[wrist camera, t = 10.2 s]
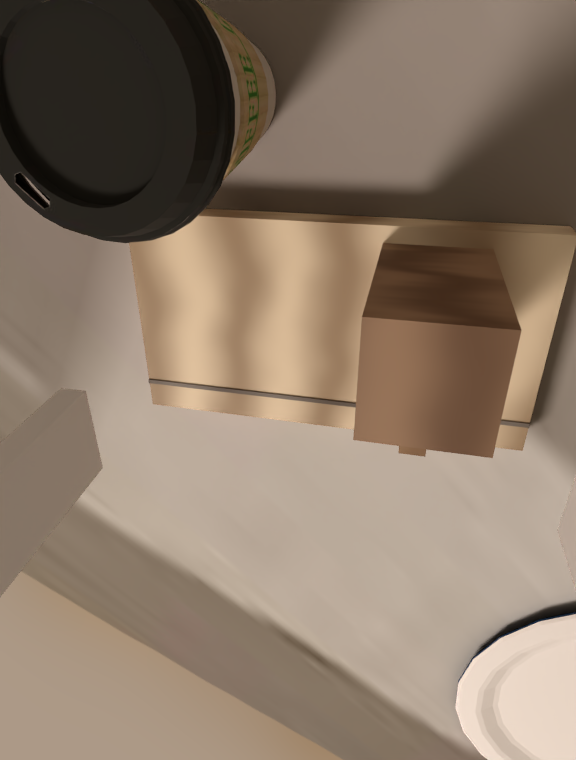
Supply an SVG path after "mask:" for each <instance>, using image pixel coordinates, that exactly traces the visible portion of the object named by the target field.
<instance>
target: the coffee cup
mask: <svg viewBox="0 0 576 760" xmlns="http://www.w3.org/2000/svg"><path fill="white" fill-rule="evenodd" d="M275 105H276V89H275V81H274V78H273V74H272V71H271V68H270V66H269V64H268V62H267V60H266V58H265V57H264V56H263V54H262V53H261V52H260V50H259V49H258V48H257V47H256V46H255V45H254V44H253V43H252V42H250V41H249V40H248V39H246V37H245V36H244V35H243V34H242V33H241V32H240V31H239V30H237V29H236V28H235V27H234V26H233V25H232V24H230V23H229V22H228V21H226V20H225V19H224V18H222V17H221V16H219V15H218V14H217V13H215V12H214V11H213V10H211V9H210V8H208V7H207V6H206V5H204V4H203V3H202V2H200V1H199V0H0V174H1V175H2V177H3V178H4V180H5V181H6V182H7V184H8V185H9V186H10V187H11V188H12V189H13V190H14V191H15V192H16V193H17V194H18V196H19V197H20V198H21V199H22V200H23V201H24V202H25V203H26V204H28V205H29V206H30V207H32V208H33V209H34V210H35V211H37V212H38V213H39V214H41V215H42V216H43V217H45V218H47V219H48V220H50V221H52V222H54V223H56V224H58V225H59V226H61V227H63V228H66V229H69V230H72V231H75V232H78V233H81V234H84V235H88V236H91V237H94V238H97V239H100V240H105V241H113V242H121V243H131V242H142V241H151V240H155V239H158V238H161V237H164V236H167V235H170V234H173V233H175V232H176V231H178V230H179V229H181V228H183V227H184V226H186V225H188V224H189V223H191V222H192V221H193V220H194V219H195V218H196V217H197V216H198V215H199V214H200V213H201V212H202V211H203V210H204V209H205V208H206V207H207V206H208V205H209V203H210V201H211V200H212V198H213V197H214V195H215V194H216V192H217V191H218V189H219V187H220V186H221V183H222V181H223V180H224V179H225V178H226V177H227V176H228V175H229V174H230V173H231V172H232V171H233V169H234V168H235V167H236V166H237V165H238V164H239V163H240V162H241V161H242V160H243V159H244V158H245V157H246V156H247V155H248V154H249V153H250V152H251V151H252V149H253V148H254V146H255V145H256V143H257V142H258V140H259V139H260V138H261V137H262V136H263V135H264V134H265V132H266V130H267V129H268V127H269V125H270V123H271V120H272V118H273V115H274V110H275ZM24 176H25V177H27V178H28V179H29V180H30V181H31V182H32V183H33V185H34V186H35V187H36V188H37V189H38V190H39V191H40V192H41V193H42V194H43V195H44V196H45V197H46V198H47V199H48V200H49V201H50V205H49V204H48V203H47V202H46V201H45V200H44V199H43V198H42V197H41V196H40V195H39V194H38V193H37V192H36V191H35V190H34V189H33V187H32V186H31V185H30V184H29V182H28V181H27V180H26V178H25V177H24Z"/></svg>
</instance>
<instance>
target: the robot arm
mask: <svg viewBox="0 0 576 760" xmlns="http://www.w3.org/2000/svg"><path fill="white" fill-rule="evenodd" d="M102 468H103V467H102V462H101V458H100V453H99V449H98V444H97V440H96V435H95V431H94V426H93V422H92V417H91V412H90V408H89V403H88V399H87V394H86V391H82V390H73V389H64V388H61V389H60V390H59V391H58V392H56V393H55V394H54V395H53V396H52V397H51V398H50V399H49V400H48V401H46V402H45V403H44V404H43V405H42V406H41V407H40V408H39V409H37V410H36V411H35V412H34V413H33V414H32V415H31V416H30V417H29V418H27V419H26V420H25V421H24V422H23V423H22V424H21V425H20V426H18V427H17V428H16V429H15V430H14V431H13V432H12V433H11V434H9V435H8V436H7V437H6V438H5V439H4V440H3V441H2V442H1V443H0V597H1V595H2V594H3V593H4V592H5V590H6V589H7V588H8V587H9V585H10V584H11V583H12V582H13V580H14V579H15V578H16V577H17V575H18V574H19V573H20V572H21V570H22V569H23V568H24V566H25V565H26V564H27V563H28V561H29V560H30V559H31V558H32V556H33V555H34V554H35V553H36V551H37V550H38V549H39V548H40V546H41V545H42V544H43V542H44V541H45V540H46V539H47V537H48V536H49V535H50V534H51V532H52V531H53V530H54V529H55V527H56V526H57V525H58V524H59V522H60V521H61V520H62V518H63V517H64V516H65V515H66V513H67V512H68V511H69V510H70V508H71V507H72V506H73V505H74V503H75V502H76V501H77V500H78V498H79V497H80V496H81V494H82V493H83V492H84V491H85V489H86V488H87V487H88V486H89V484H90V483H91V482H92V481H93V479H94V478H95V477H96V476H97V474H98V473H99V472H100V470H101V469H102ZM558 534H559V537H560V540H561V543H562V547H563V550H564V553H565V557H566V560H567V563H568V567H569V570H570V573H571V577H572V580H573V583H574V587H575V590H576V476H575V479H574V482H573V485H572V488H571V491H570V494H569V497H568V500H567V503H566V506H565V509H564V512H563V515H562V518H561V521H560V524H559V527H558Z"/></svg>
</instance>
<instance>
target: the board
mask: <svg viewBox="0 0 576 760" xmlns="http://www.w3.org/2000/svg"><path fill="white" fill-rule="evenodd" d="M383 243H392V244H409V245H427V246H444V247H461V248H479V249H494V252H495V255H496V258H497V261H498V264H499V267H500V270H501V272H502V275H503V278H504V281H505V284H506V287H507V290H508V293H509V296H510V298H511V301H512V304H513V307H514V310H515V313H516V316H517V319H518V321H519V324H520V327H521V330H522V331H521V335H520V340H519V344H518V348H517V353H516V357H515V361H514V366H513V370H512V375H511V379H510V383H509V388H508V392H507V397H506V401H505V405H504V410H503V414H502V418H501V423H500V427H499V432H498V436H497V440H496V445H495V447H497V448H505V449H513V450H521V451H523V447H524V443H525V439H526V435H527V431H528V428H529V426H530V420H531V416H532V412H533V408H534V405H535V401H536V397H537V393H538V389H539V385H540V381H541V378H542V374H543V370H544V366H545V362H546V358H547V355H548V351H549V347H550V343H551V339H552V335H553V332H554V328H555V324H556V320H557V316H558V312H559V308H560V305H561V301H562V297H563V293H564V289H565V285H566V282H567V278H568V274H569V270H570V266H571V262H572V259H573V255H574V251H575V247H576V232H575V231H574V230H573V229H572V228H571V226H555V225H534V224H514V223H493V222H473V221H452V220H431V219H411V218H390V217H369V216H349V215H328V214H308V213H287V212H266V211H246V210H225V209H204V210H203V211H202V212H201V213H200V214H199V215H198V216H197V217H196V218H195V219H194V220H193V221H192V222H191V223H189V224H188V225H186V226H184V227H183V228H181V229H179V230H178V231H176V232H175V233H173V234H170V235H167V236H164V237H161V238H158V239H155V240H151V241H142V242H131V243H129V245H130V252H131V259H132V265H133V272H134V279H135V286H136V292H137V299H138V306H139V313H140V319H141V326H142V333H143V340H144V346H145V353H146V360H147V367H148V373H149V383H150V387H151V393H152V400H153V404H157V405H165V406H172V407H180V408H188V409H196V410H204V411H212V412H220V413H228V414H236V415H244V416H252V417H260V418H268V419H276V420H283V421H291V422H299V423H307V424H315V425H323V426H331V427H339V428H347V429H354V424H355V409H356V395H357V380H358V366H359V351H360V337H361V322H362V315H363V311H364V308H365V304H366V301H367V297H368V294H369V290H370V287H371V283H372V280H373V276H374V273H375V269H376V266H377V262H378V259H379V255H380V252H381V248H382V245H383Z"/></svg>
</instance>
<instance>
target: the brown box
mask: <svg viewBox="0 0 576 760" xmlns="http://www.w3.org/2000/svg"><path fill="white" fill-rule="evenodd" d="M521 331H522V330H521V327H520V324H519V321H518V319H517V316H516V313H515V310H514V307H513V304H512V301H511V298H510V296H509V293H508V290H507V287H506V284H505V281H504V278H503V275H502V272H501V270H500V267H499V264H498V261H497V258H496V255H495V252H494V249H479V248H461V247H444V246H427V245H409V244H392V243H383V245H382V248H381V252H380V255H379V259H378V262H377V266H376V269H375V273H374V276H373V280H372V283H371V287H370V290H369V294H368V297H367V301H366V304H365V308H364V311H363V315H362V322H361V337H360V351H359V366H358V380H357V395H356V409H355V424H354V438H353V440H359V441H366V442H374V443H382V444H389V445H397V446H399V453H403V454H410V455H418V456H425V454H426V449H428V450H436V451H443V452H451V453H459V454H466V455H474V456H482V457H489V458H493V453H494V449H495V445H496V440H497V436H498V432H499V427H500V423H501V418H502V414H503V410H504V405H505V401H506V397H507V392H508V388H509V383H510V379H511V375H512V370H513V366H514V361H515V357H516V353H517V348H518V344H519V340H520V335H521Z"/></svg>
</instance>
